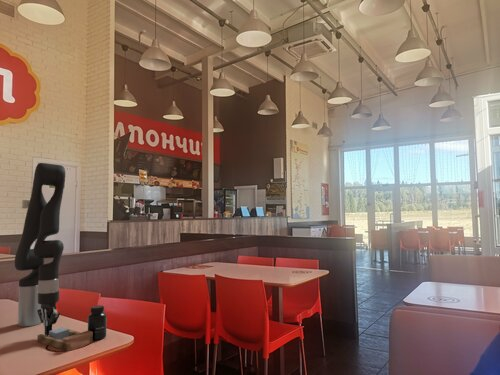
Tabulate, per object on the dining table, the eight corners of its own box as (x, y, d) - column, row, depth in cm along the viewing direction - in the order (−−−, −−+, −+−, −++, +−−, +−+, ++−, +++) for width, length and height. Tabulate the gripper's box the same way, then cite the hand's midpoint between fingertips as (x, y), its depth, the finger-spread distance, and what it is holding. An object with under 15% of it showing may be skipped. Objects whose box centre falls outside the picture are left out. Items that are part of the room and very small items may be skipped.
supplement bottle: (99, 341, 139) (99, 309, 140) (83, 340, 141) (83, 308, 141) (110, 335, 146) (110, 304, 147) (94, 334, 147) (94, 304, 148)
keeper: (48, 341, 141) (49, 331, 141) (61, 337, 145) (61, 327, 145) (56, 344, 138) (56, 333, 139) (68, 339, 142) (68, 329, 143)
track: (37, 341, 141) (37, 331, 141) (62, 334, 149) (62, 324, 149) (67, 351, 130) (67, 339, 130) (92, 342, 138) (92, 331, 139)
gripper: (30, 290, 147) (29, 335, 146) (48, 294, 140) (47, 340, 139) (48, 287, 153) (48, 329, 152) (67, 290, 146) (66, 334, 145)
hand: (48, 334), depth 146 cm, fingers closed
